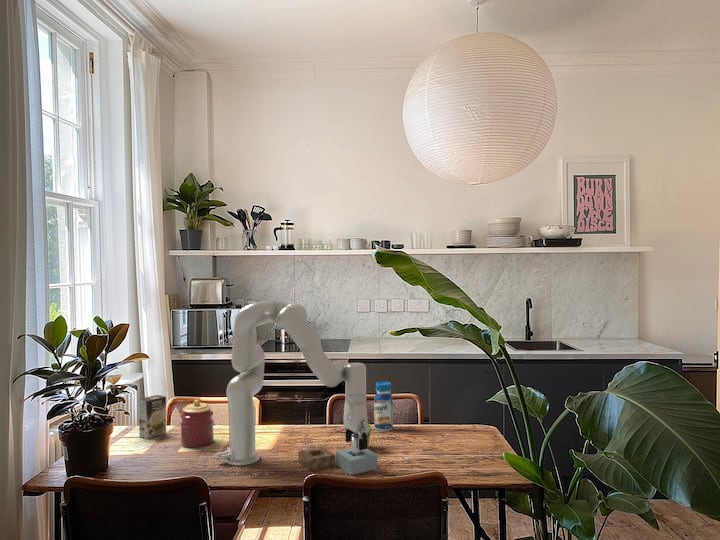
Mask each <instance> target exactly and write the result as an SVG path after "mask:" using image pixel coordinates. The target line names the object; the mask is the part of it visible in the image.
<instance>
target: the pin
mask: <svg viewBox="0 0 720 540" xmlns="http://www.w3.org/2000/svg"><path fill="white" fill-rule="evenodd" d="M359 439H360V437H359V434H358V432H357V433H355V432H354V433H352V441H351V448H352V456H358V455H361V450H359Z"/></svg>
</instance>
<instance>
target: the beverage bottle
mask: <svg viewBox="0 0 720 540" xmlns="http://www.w3.org/2000/svg"><path fill="white" fill-rule="evenodd" d="M391 390H392V383H391V382H390V381H377V382H376V383H375V391H376V393H375V394H374V399H373V400H374V402H373V407H374V408H373V409H374V412H373V413H374V429H375V430H377V431H381V432H385V431H391V430H393V428H394V402H393V399H394V398H393V397H394V396H393V395H392V393H391Z"/></svg>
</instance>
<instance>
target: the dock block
mask: <svg viewBox="0 0 720 540" xmlns="http://www.w3.org/2000/svg"><path fill="white" fill-rule="evenodd" d="M378 462H379V461H378V454H377V453H375V452H373V451H372V450H370V449H369V448H368V449H364V450H361V455H358V456H352V447H349V448H344V449H339V450H335V466H337V467H338V468H340V469H341V470H343V471H344V472H345V473H347V474H348V475H349V476H353V475H357V474H361V473H366V472H369V471H374V470H378V465H379V463H378Z"/></svg>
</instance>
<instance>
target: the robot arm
mask: <svg viewBox="0 0 720 540" xmlns="http://www.w3.org/2000/svg"><path fill="white" fill-rule="evenodd" d="M307 317H308V313H307V311H306V309H305V307H303V306H302V305H300V304H298V303H292V302H291V303H290V302H285V301H284V302H283V301H278V300H270V299H269V300H263V301H256V302H253V303H250V304H248V305H245V306H244V307H242V308H240V310H238V312H237V313H236V315H235V318H234V322H233V324H234V325H233V326H234V327H233V337H232V339H233V340H232V351H231V365H232V368H233V369H234V371H236V372H238V373H240V374H238V375H236V376H234V377H233V378H232V379H230V381H229V382H228V384H227V387H226V399H227V407H228V436H229V437H228V438H229V439H228V440H229V442H228V443H229V444H228V445H229V447H226V450H224V451H220V452H216V453H215V454H216V459H222V460H225V461H224V462H225V463H226V464H228V465H230V466H238V467H240V466H249V465H252V464H255V463H256V462H258V461H259V460H260V457H261V455H260V453H259V452H257V451H256V410H255V404H254V396H255V395H257V394H258V393H259V392H260V391H261V390H262V388H263V384H264V377H265V376H264V375H265V363H266V361H265V360H266V359H265V351H264V349H263V347H262V346H261V345H259V344H258V343H257V338H258V337H257V336H258V334H257V327H258V326H262V325H267V324H268V323H269V324H271V323H272V324H279V325H280V327H282V328H283V330H284V331H285V332H286V333H287V334H288V336H289V337H290V338H291V340H293V342H294V343H295V345H296V346H297V347H298V348H299V349H300V351H301V353H302V355H303V358H304V360H305V361H306V364H307V365H308V367H309V369H310V370H311V371H312V373H313V374H314V375H315V376H316V378H317V379H318V380H319V381H320V382H321V383H322V384H323V385H324V386H326V387H329V388H333V387H334V388H335V387H337V386H338V385H339V384H341V383H342V382H343V381H344V382H345V384H344V385H345V388H344V389H345V390H344V392H345V395H344V396H345V401H344V407H343V417H342V418H343V426H344V431H345V433H344V434H345V442H346V443H349V442H352V433H354V432H355V433H357V432H358V434H359V437H360V439H359V450H364V449H367V438H368V435H369V431H370V428H369V426H368V424H369V423H368V411H367V410H368V409H367V367H366V364H365V363H362V362H347V361H346V362H345V361H341V360H335V361H331V360H330V359H329V357H328V356H327V355H326V353H325V351H324V350H323V347H322V343H321V342H322V341H321V336H320V334H319V332H318V331H317V330H316V329H315V328H314V327H313V326H312V324H311V323H310V322H309V321H308V320H307ZM360 429H361V430H360ZM361 432H364V433H363V434H361Z"/></svg>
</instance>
